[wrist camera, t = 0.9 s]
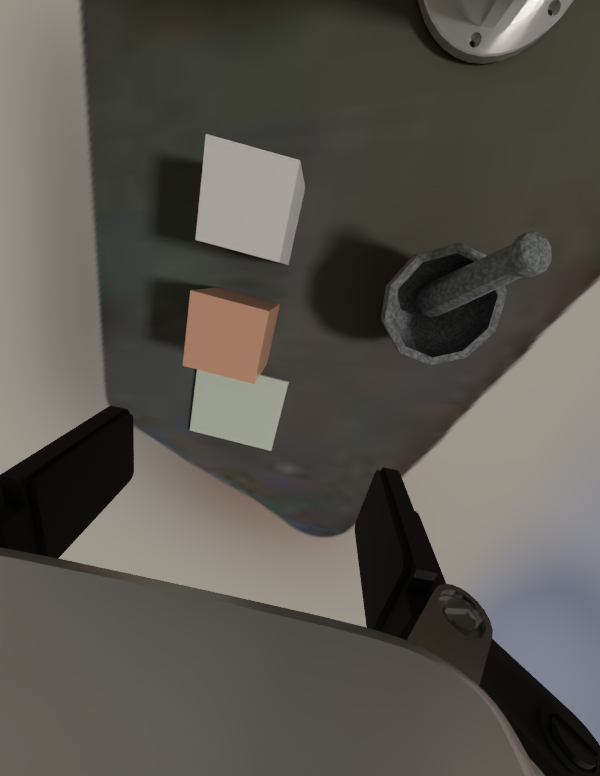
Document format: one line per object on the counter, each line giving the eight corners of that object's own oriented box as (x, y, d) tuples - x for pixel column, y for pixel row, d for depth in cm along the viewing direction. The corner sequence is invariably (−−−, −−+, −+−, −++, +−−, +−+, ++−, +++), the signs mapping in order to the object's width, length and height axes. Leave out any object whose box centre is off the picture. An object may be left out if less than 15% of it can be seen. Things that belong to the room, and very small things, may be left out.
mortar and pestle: (413, 363, 33) (460, 408, 22) (353, 309, 31) (370, 328, 20) (498, 282, 29) (606, 287, 18) (434, 216, 28) (511, 176, 16)
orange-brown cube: (217, 287, 31) (190, 290, 25) (280, 303, 31) (269, 311, 25) (209, 348, 34) (182, 365, 27) (267, 363, 34) (254, 384, 28)
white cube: (233, 167, 27) (205, 133, 21) (305, 187, 27) (300, 160, 21) (222, 247, 30) (195, 239, 23) (288, 265, 30) (279, 262, 23)
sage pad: (199, 358, 34) (198, 359, 34) (288, 381, 35) (288, 382, 34) (191, 428, 38) (189, 430, 38) (271, 449, 38) (271, 450, 38)
